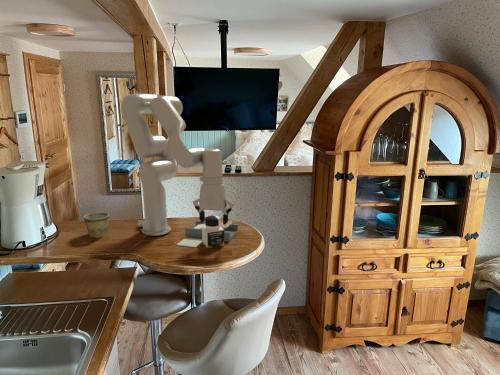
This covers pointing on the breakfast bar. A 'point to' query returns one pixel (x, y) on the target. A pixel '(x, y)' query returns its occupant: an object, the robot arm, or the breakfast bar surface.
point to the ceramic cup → (97, 224)
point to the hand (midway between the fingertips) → (213, 222)
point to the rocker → (220, 225)
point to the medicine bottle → (212, 232)
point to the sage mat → (190, 242)
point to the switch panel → (228, 232)
